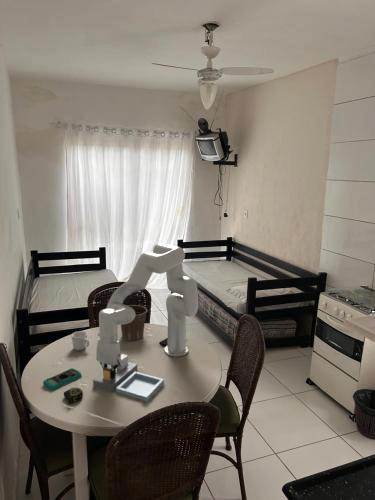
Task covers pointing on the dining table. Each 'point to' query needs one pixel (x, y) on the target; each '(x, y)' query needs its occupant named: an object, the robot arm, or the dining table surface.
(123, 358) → the block
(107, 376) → the block
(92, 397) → the dining table surface
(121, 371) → the fuse block
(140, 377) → the parts tray
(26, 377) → the dining table surface
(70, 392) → the tape measure
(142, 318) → the plant pot
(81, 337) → the cup
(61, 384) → the digital multimeter
